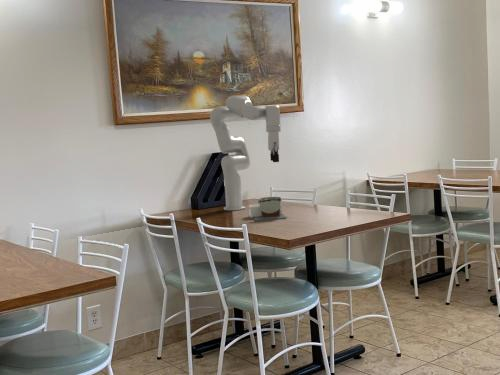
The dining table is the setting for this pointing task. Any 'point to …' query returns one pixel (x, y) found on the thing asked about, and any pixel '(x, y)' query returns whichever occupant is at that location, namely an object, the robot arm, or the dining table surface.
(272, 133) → the robot arm
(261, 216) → the mat
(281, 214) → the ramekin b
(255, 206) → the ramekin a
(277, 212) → the food container
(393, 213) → the dining table surface
